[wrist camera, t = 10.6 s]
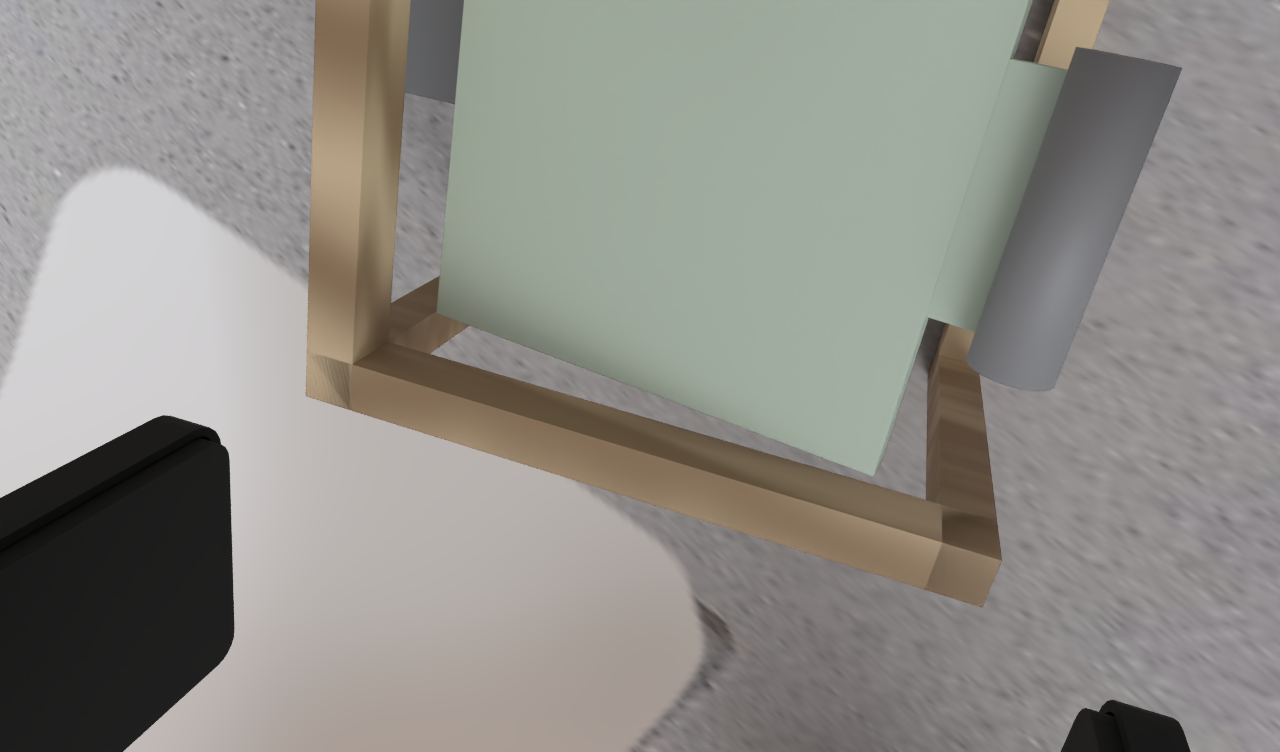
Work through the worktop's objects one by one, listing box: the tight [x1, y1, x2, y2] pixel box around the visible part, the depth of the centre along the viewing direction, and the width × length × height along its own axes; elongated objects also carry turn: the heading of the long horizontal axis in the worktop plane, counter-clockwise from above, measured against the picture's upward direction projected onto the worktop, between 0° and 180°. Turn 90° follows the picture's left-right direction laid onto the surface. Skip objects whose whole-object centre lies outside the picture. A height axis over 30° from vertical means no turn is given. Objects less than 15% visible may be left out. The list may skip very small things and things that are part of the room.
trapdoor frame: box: [306, 0, 1110, 607], centre depth 29 cm, size 20×20×16 cm
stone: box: [405, 0, 464, 104], centre depth 36 cm, size 5×5×6 cm
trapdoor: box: [437, 0, 1182, 476], centre depth 23 cm, size 15×17×2 cm
